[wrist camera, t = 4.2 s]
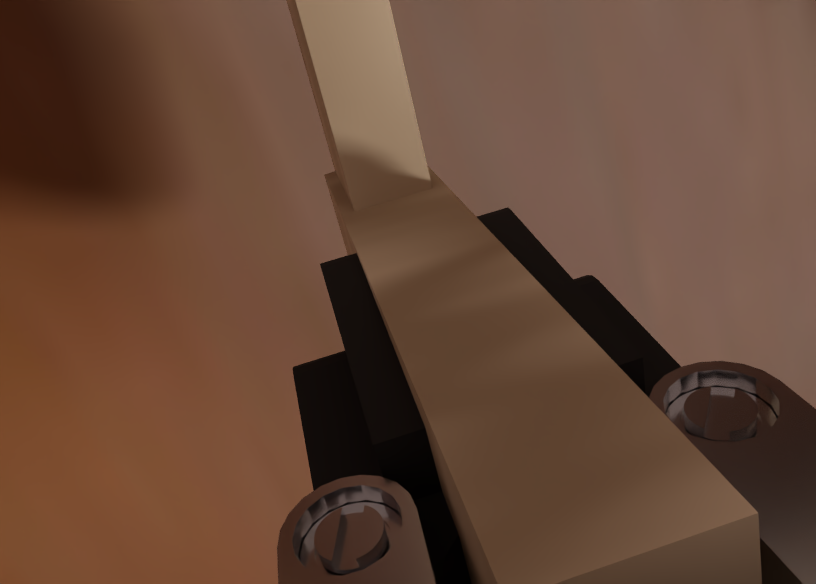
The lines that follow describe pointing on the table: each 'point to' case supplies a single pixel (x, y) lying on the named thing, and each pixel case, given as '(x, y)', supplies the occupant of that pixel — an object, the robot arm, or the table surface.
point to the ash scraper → (506, 359)
